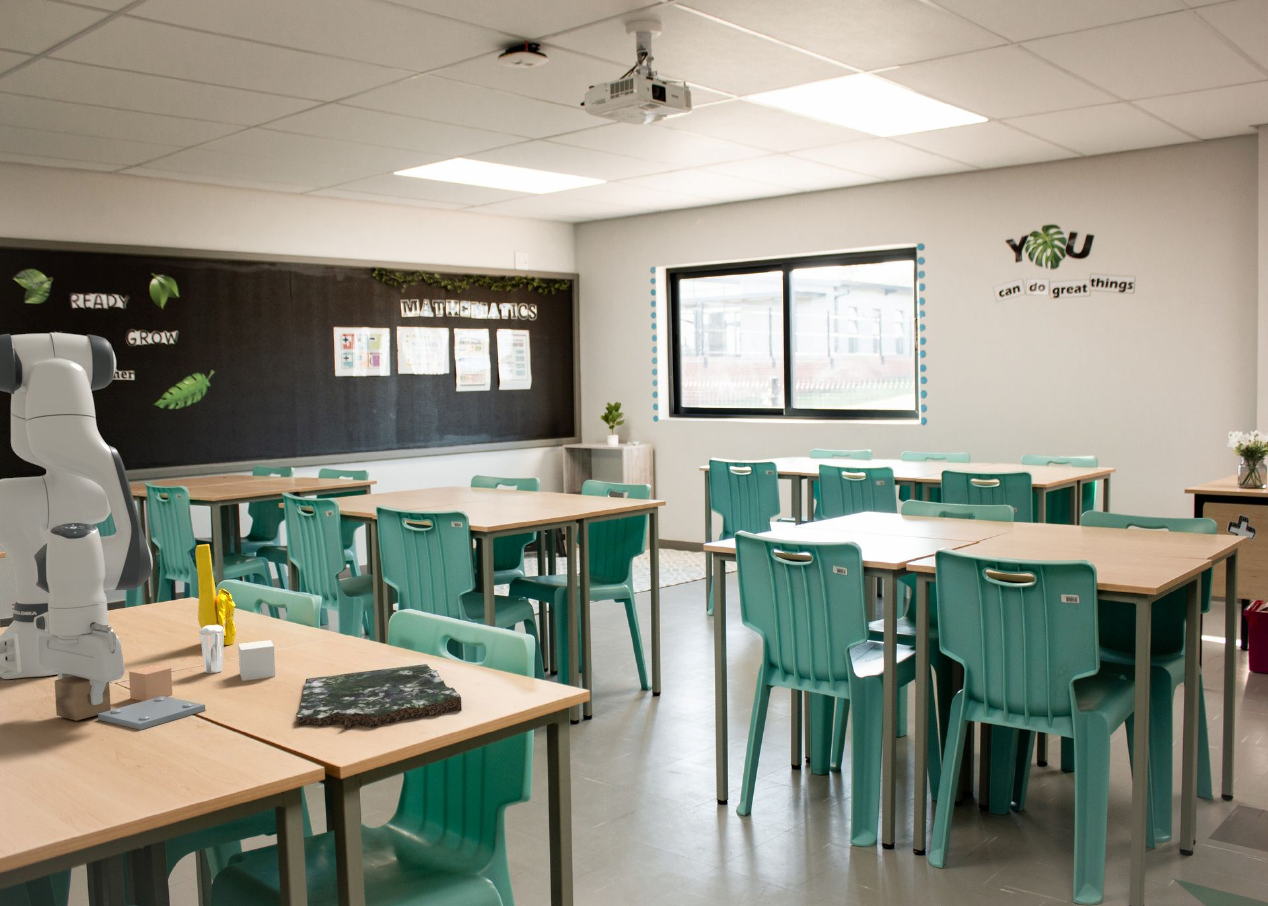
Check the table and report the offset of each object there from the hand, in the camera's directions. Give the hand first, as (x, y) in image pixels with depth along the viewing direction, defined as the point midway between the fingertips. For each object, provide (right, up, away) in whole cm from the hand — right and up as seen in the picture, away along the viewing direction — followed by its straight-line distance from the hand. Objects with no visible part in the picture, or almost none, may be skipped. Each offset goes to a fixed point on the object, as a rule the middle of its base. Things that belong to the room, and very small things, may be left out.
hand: (83, 700), depth 182 cm
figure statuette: (+2, 0, +53) cm, 53 cm away
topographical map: (+48, -2, +5) cm, 48 cm away
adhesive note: (+21, -1, +25) cm, 32 cm away
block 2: (+6, -2, +11) cm, 13 cm away
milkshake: (+11, -1, +28) cm, 31 cm away
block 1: (0, -2, 0) cm, 2 cm away
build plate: (+12, -2, 0) cm, 12 cm away
